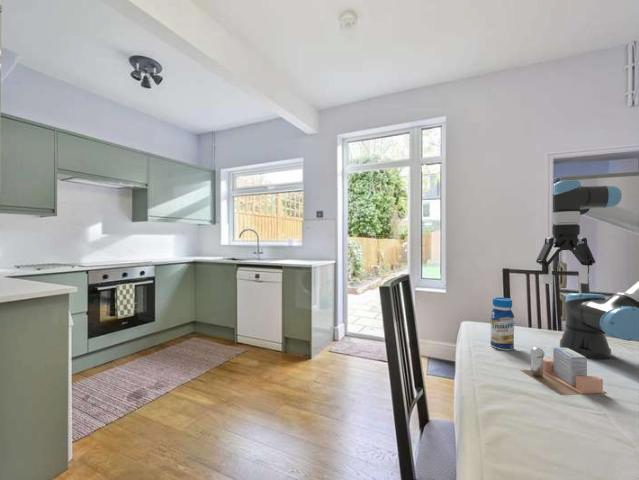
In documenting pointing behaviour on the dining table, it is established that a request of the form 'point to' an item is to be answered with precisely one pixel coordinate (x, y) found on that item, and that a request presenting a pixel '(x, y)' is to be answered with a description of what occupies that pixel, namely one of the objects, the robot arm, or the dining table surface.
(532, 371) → the light bulb
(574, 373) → the medicine box
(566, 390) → the board
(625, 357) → the dining table surface
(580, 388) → the end holder
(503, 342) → the beverage bottle
